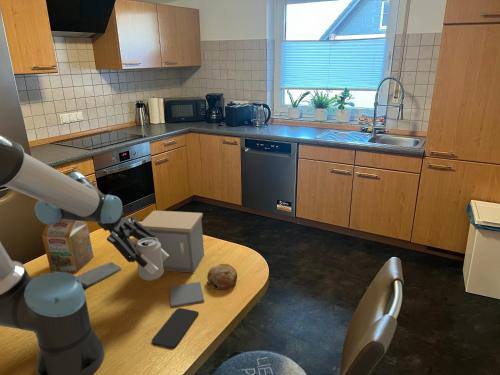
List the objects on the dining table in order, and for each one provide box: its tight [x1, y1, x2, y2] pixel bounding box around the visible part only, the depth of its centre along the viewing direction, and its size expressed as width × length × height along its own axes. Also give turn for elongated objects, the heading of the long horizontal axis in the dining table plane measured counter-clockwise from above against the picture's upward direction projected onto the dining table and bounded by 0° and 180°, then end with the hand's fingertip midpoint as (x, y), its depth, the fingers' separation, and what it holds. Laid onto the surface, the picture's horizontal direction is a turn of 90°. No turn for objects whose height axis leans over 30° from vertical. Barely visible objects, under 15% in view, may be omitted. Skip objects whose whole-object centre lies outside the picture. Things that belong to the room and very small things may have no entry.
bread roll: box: [206, 263, 238, 291], centre depth 123 cm, size 10×10×8 cm
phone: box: [151, 307, 200, 349], centre depth 104 cm, size 7×1×15 cm
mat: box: [169, 281, 205, 308], centre depth 118 cm, size 10×10×1 cm
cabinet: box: [139, 210, 205, 274], centre depth 133 cm, size 14×19×17 cm
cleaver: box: [76, 261, 122, 291], centre depth 125 cm, size 29×10×2 cm, turn 144°
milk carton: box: [41, 219, 95, 274], centre depth 135 cm, size 11×11×19 cm
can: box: [136, 237, 165, 281], centre depth 116 cm, size 8×8×12 cm
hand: (160, 264), depth 116 cm, fingers closed on can, 7 cm apart
